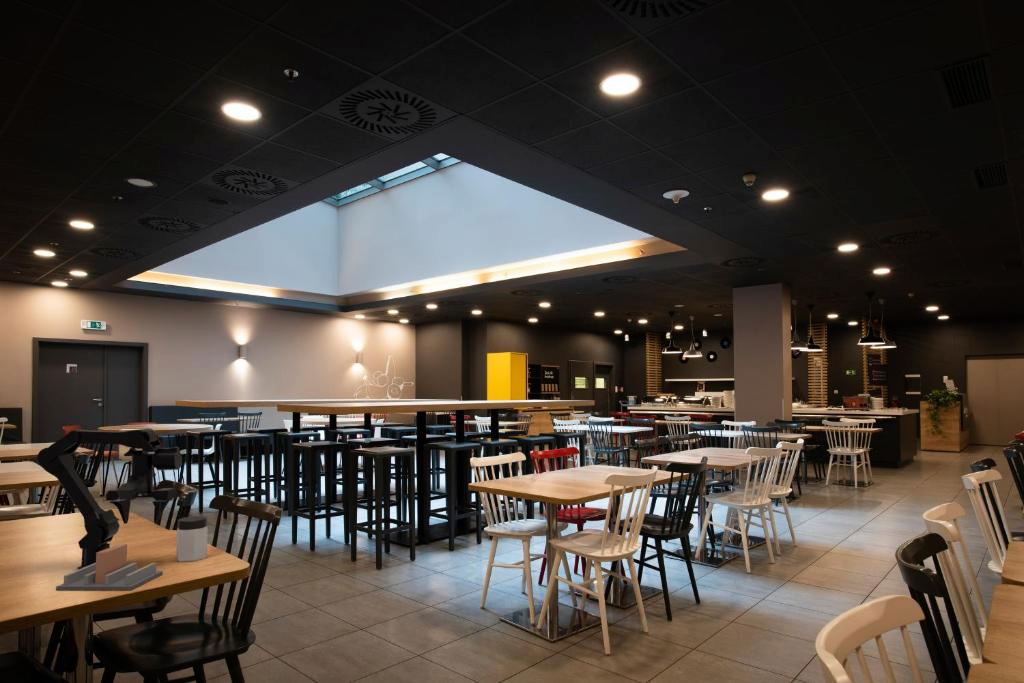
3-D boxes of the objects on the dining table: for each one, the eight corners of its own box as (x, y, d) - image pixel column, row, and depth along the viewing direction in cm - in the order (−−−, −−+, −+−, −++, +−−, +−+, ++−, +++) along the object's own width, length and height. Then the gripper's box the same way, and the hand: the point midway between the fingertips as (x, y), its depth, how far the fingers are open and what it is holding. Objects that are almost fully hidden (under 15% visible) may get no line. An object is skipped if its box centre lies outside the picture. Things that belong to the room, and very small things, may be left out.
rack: (55, 590, 165) (56, 576, 165) (93, 574, 179) (93, 561, 179) (131, 590, 164) (131, 576, 164) (162, 574, 178) (162, 561, 178)
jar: (194, 553, 201) (195, 514, 202) (213, 555, 197) (214, 516, 198) (169, 560, 193) (170, 520, 193) (187, 563, 189) (189, 522, 190)
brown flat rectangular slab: (95, 583, 167) (96, 552, 167) (117, 573, 176) (118, 544, 176) (104, 583, 167) (105, 552, 167) (126, 573, 176) (127, 544, 176)
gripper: (93, 474, 183) (91, 529, 181) (157, 474, 182) (155, 529, 181) (118, 469, 194) (117, 521, 193) (178, 469, 193) (177, 521, 192)
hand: (140, 523), depth 189 cm, fingers open, 9 cm apart
